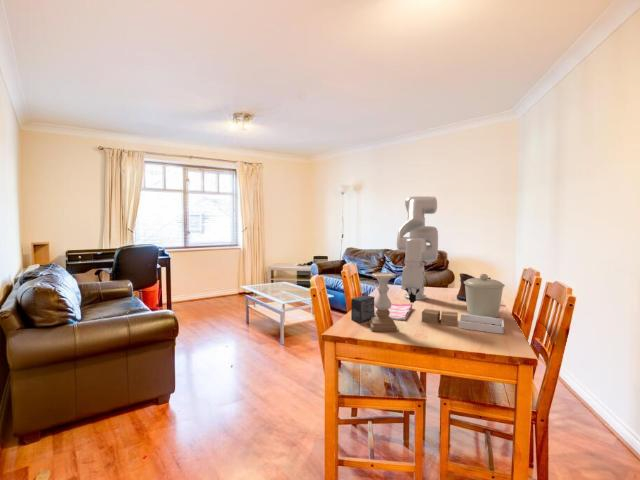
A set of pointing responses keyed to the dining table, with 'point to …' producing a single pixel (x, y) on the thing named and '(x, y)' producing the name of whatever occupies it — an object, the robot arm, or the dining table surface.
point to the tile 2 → (449, 318)
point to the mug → (463, 286)
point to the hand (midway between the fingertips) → (412, 302)
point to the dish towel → (398, 311)
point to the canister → (483, 296)
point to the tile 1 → (431, 315)
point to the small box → (362, 308)
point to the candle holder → (382, 306)
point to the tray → (480, 326)
